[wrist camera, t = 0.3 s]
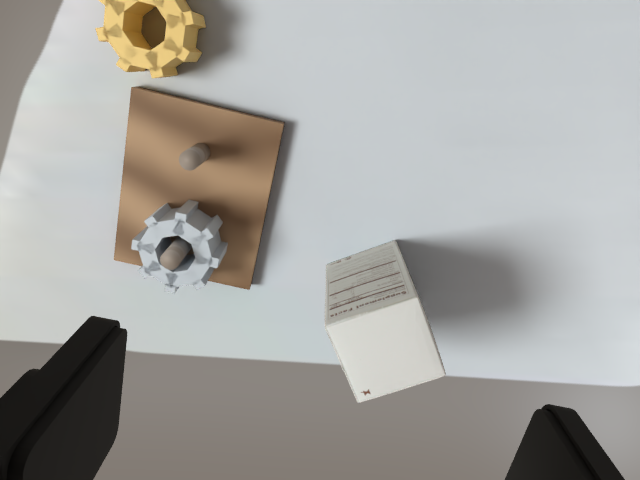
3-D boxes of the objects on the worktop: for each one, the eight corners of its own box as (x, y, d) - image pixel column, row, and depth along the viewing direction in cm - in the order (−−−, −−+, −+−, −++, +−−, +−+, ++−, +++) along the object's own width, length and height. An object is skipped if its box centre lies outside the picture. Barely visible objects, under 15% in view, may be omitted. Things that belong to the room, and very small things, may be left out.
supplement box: (419, 302, 49) (449, 379, 37) (349, 325, 50) (355, 407, 38) (397, 236, 47) (420, 295, 35) (323, 261, 48) (321, 328, 36)
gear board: (136, 86, 43) (103, 90, 36) (284, 122, 43) (277, 132, 37) (118, 255, 48) (86, 284, 42) (251, 284, 49) (239, 317, 42)
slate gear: (139, 207, 45) (122, 220, 41) (216, 195, 44) (206, 207, 41) (160, 278, 47) (146, 297, 44) (233, 268, 47) (225, 286, 43)
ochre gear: (122, -30, 40) (100, -39, 36) (211, -7, 40) (198, -14, 36) (113, 63, 42) (92, 63, 38) (197, 84, 42) (185, 86, 39)
